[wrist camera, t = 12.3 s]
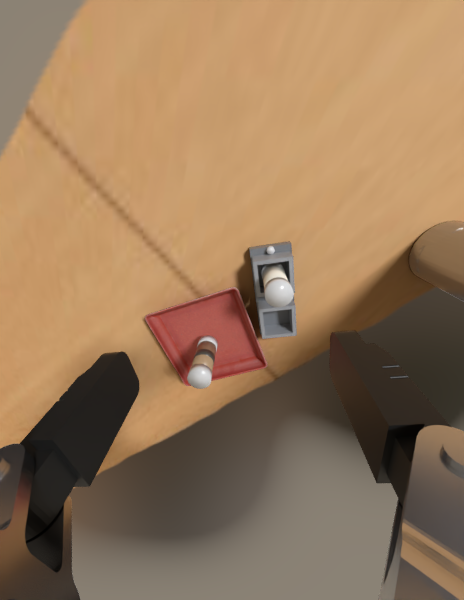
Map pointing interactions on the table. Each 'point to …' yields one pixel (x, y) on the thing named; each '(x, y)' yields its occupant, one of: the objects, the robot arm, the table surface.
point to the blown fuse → (203, 362)
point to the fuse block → (269, 317)
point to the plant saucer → (209, 321)
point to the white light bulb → (276, 285)
